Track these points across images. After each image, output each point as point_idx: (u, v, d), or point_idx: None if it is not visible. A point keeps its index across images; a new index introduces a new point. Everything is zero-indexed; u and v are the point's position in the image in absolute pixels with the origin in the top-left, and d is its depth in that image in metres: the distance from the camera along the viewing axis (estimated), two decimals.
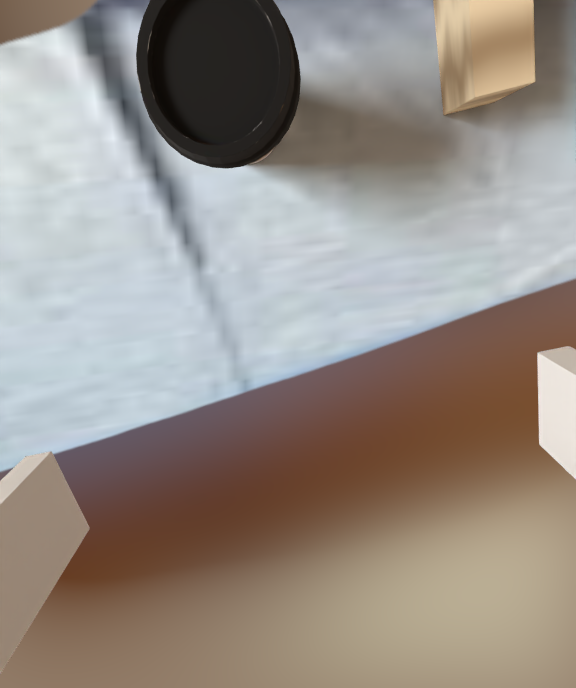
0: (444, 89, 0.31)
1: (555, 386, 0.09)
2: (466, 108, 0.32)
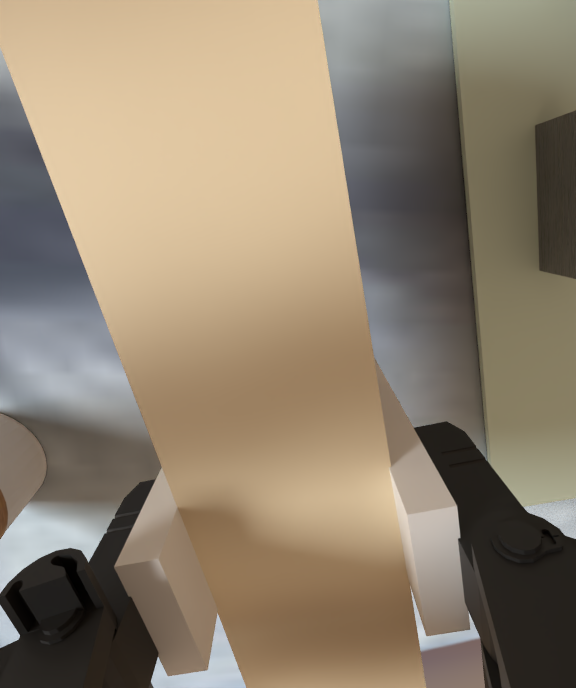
0: None
1: None
2: None
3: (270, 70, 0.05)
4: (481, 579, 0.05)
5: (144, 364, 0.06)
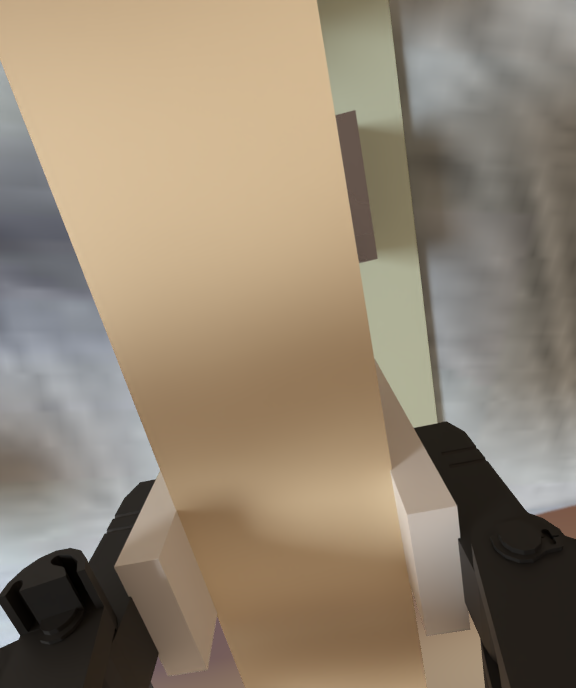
0: None
1: None
2: None
3: (270, 74, 0.05)
4: (481, 579, 0.05)
5: (143, 369, 0.06)
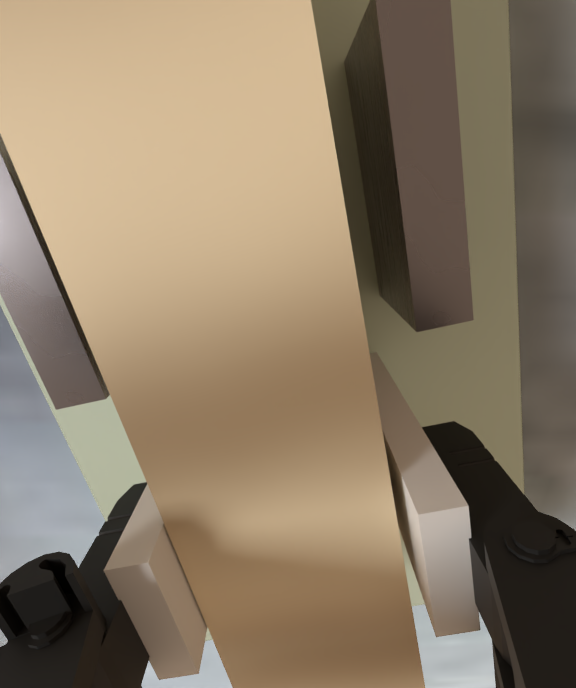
0: None
1: None
2: None
3: (259, 62, 0.05)
4: (494, 579, 0.05)
5: (127, 379, 0.06)
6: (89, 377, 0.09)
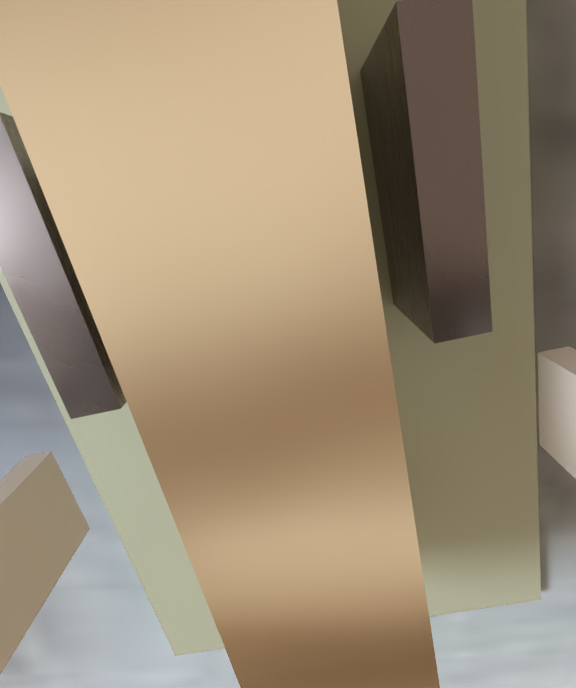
0: None
1: (555, 386, 0.09)
2: None
3: (285, 77, 0.05)
4: None
5: (147, 392, 0.06)
6: (104, 386, 0.09)
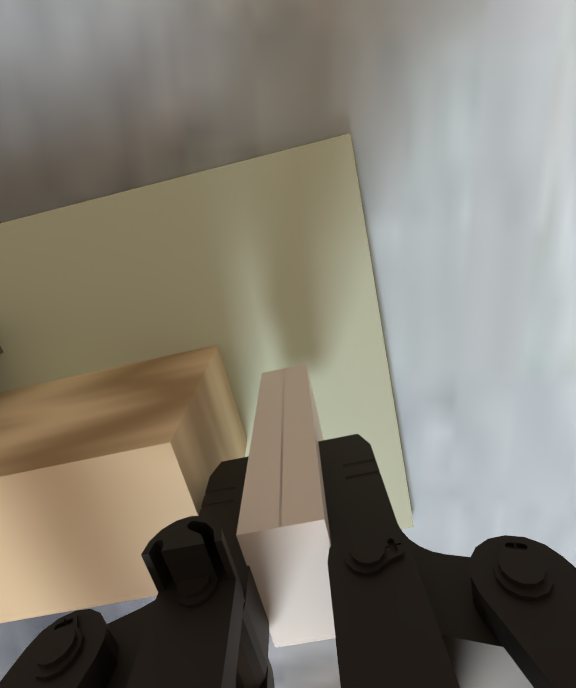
0: None
1: None
2: (233, 415, 0.14)
3: None
4: (332, 598, 0.05)
5: None
6: None
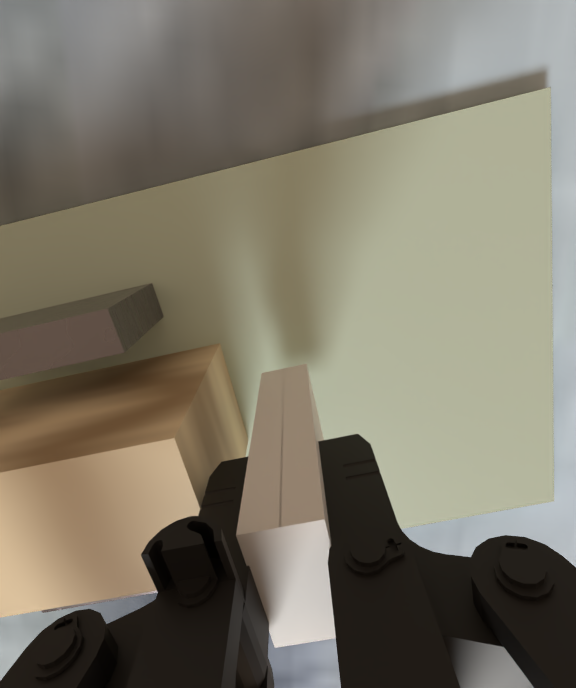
0: None
1: None
2: (234, 413, 0.14)
3: None
4: (332, 598, 0.05)
5: None
6: None
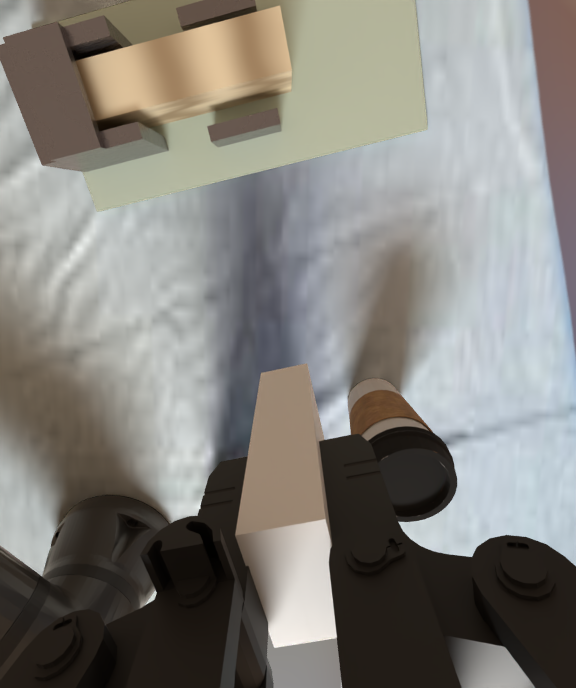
0: (272, 93, 0.34)
1: None
2: None
3: (105, 64, 0.29)
4: (333, 598, 0.05)
5: (163, 97, 0.30)
6: (270, 111, 0.33)
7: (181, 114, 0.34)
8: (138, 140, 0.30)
